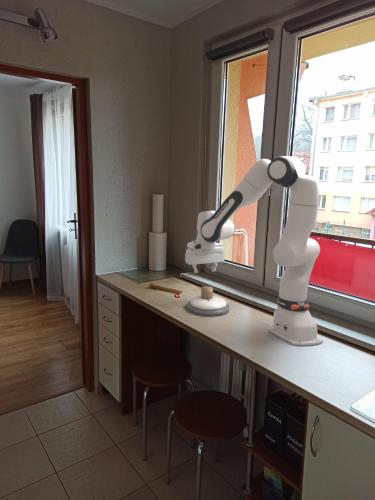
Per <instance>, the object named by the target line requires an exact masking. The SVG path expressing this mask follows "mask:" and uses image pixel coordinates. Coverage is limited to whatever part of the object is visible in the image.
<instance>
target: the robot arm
mask: <svg viewBox="0 0 375 500" xmlns="http://www.w3.org/2000/svg"><path fill="white" fill-rule="evenodd" d="M273 183H275V184H277V185H278V186H281V187H284V188H288V190H289V192H290V197H289V203H288V204H289V205H288V211H287V217H286V218H287V219H286V223H285V225H284V229H283V232H282V234H281V236H280V239H279V240H278V243H277V244H276V245H275V247H274V248H273V251H272V257H273V260H274V262H275V263H276V265H278V266H279V267H282V268H285V270H284V272H283V273H282V275H281V277H280V282H279V293H278V296H277V303H276V304H277V307H276V308H275V310H274V312H273V315H272V316H273V317H272V323H271V326H270V327H269V328H268V331H269V332H270V333H272V334H274V335H275V336H277V337H279V338H281V339H282V340H284V341H286V342H288V343H289V344H291V345H293V346H304V347H306V346H313V345H314V346H315V345H320V344H322V343H323V342H324V339H323V338H322V337H321V336H320V335H319V334H318V322H317V320H314V318H313V316H312V314H311V313H310V311H309V308H310V304H309V302H308V298H307V297H308V289H309V281H310V278H311V274H312V272H313V269H314V265H315V263H316V260H317V259H318V257H319V255H320V252H321V246H320V244H319V243H318V241H317V240H315V239H314V238H310V236H311V234H312V232H313V230H314V229H315V227H316V224H317V217H318V211H319V204H320V182H319V180H318V179H317V178H316V177H314V176H312V175H309V174H308V167H307V165H306V163H305V162H304V161H303V160H301V159H299V158H296V157H294V156H288V155H287V156H285V155H280V156H276V157H275V158H272V160H270V159H267V158H259V159H258V160H257V161H256V162H255V163H254V164H253V165H252V166H251V167H250V169H249V170H248V171H247V172H246V173H245V175H244V176H243V178H242V179H241V181H240V182H239V183H238V185H237V186H236V187H235V189H234V190H232V192H231V193H230V194H229V195H228V196H227V197H226V199H225V200H224V201H223V202H222V203H221V204H220V206H219V207H218V209H216V210H213V209H208V210H202V211H200V212H199V214H198V217H197V225H196V230H197V236H196V239H195V240H193V241H190V242H187V243H186V247H187V248H186V250H185V255H184V262H185V264H187V265H189V266H190V265H191V267H192V269H193V271H194V272H193V273H194V274H199V269H198V268H197V265H201V264H213V265H212V267H211V269H210V271H211V272H212V273H213V272H216V269H217V267H218V264H219V263H224V262H225V260H226V256H225V255H226V254H225V244H223V243H216V242H218V241H222V240H227V239H230V238H231V237H233V235H234V233H235V229H236V227H235V224H234V222H233V221H232V220H231V219H230V218H231V217H232V216H233V214H235V213H236V212H237V211H238V210H240V209H242V208H244V207H246V206H250V205H252V204H254V203H256V202H258V200H259V199H261V198H262V197H263V195H264V194H265V193H266V191H267V190H268V189H269V188H270V186H271V185H272V184H273Z"/></svg>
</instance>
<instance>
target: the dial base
mask: <svg viewBox="0 0 375 500" xmlns="http://www.w3.org/2000/svg"><path fill="white" fill-rule="evenodd" d="M187 310H188V312H190V313H191V314H194V315H197V316H202V317H220V316H224V315H227V314H228V313H229V312H230V305H229V302H226V307H225V308H224V309H221V310H213V311H210V310H201V309H197V308H195V307H193V306H192V305H191V300H189V301H187Z"/></svg>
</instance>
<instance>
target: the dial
mask: <svg viewBox="0 0 375 500" xmlns="http://www.w3.org/2000/svg"><path fill="white" fill-rule="evenodd" d="M200 289H201V290H200V295H197V296H195V297H193V298H191V299H190V301H191V305H192V306H193V307H195V308H197V309H201V310H210V311H213V310H221V309H224V308H225V307H226V303H227V300H225V299H224V298H222V297H219V296H215V295H214V287H213V286H210V285H204V286H201V288H200Z"/></svg>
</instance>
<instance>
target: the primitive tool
mask: <svg viewBox="0 0 375 500" xmlns="http://www.w3.org/2000/svg"><path fill="white" fill-rule="evenodd" d="M148 289H150V290H151V289H153V290H157V291H163V292H166V293H171V294H175V295H181V294H182V293H183V291H182V290H179V289H174V288H169V287H165V286H162V285H158V284H154V283H152V282H150V283H149V285H148Z"/></svg>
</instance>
